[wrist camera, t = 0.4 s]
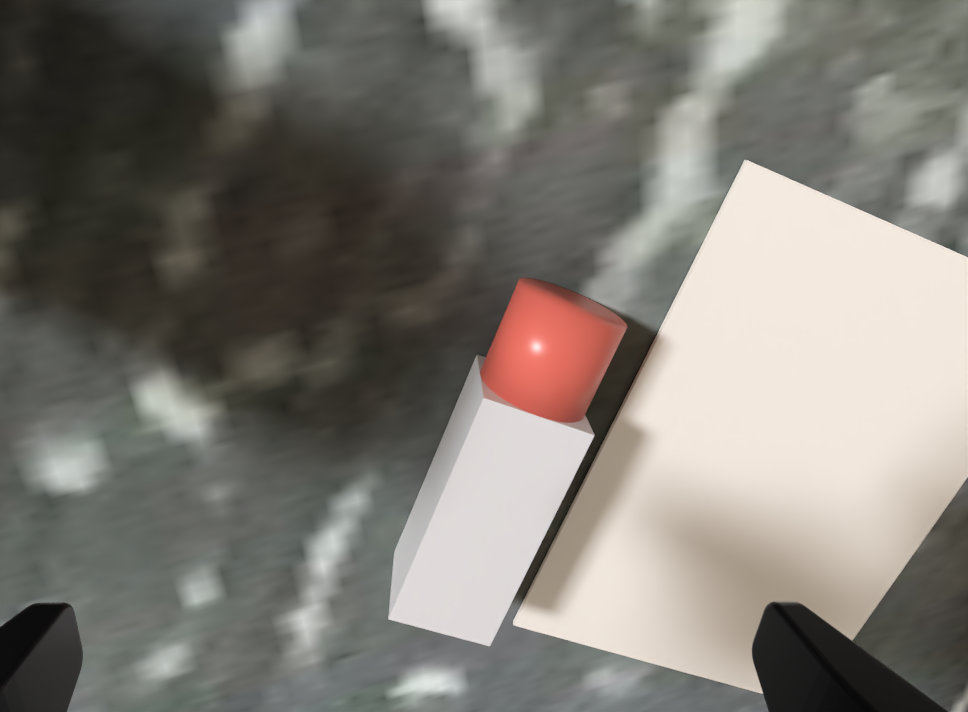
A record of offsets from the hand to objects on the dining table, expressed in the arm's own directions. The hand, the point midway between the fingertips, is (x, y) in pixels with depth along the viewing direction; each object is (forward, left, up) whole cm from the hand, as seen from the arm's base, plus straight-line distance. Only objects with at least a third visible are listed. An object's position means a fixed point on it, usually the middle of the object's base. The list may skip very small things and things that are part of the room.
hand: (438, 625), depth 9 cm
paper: (-1, -13, -14) cm, 19 cm away
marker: (-3, -3, -14) cm, 14 cm away
